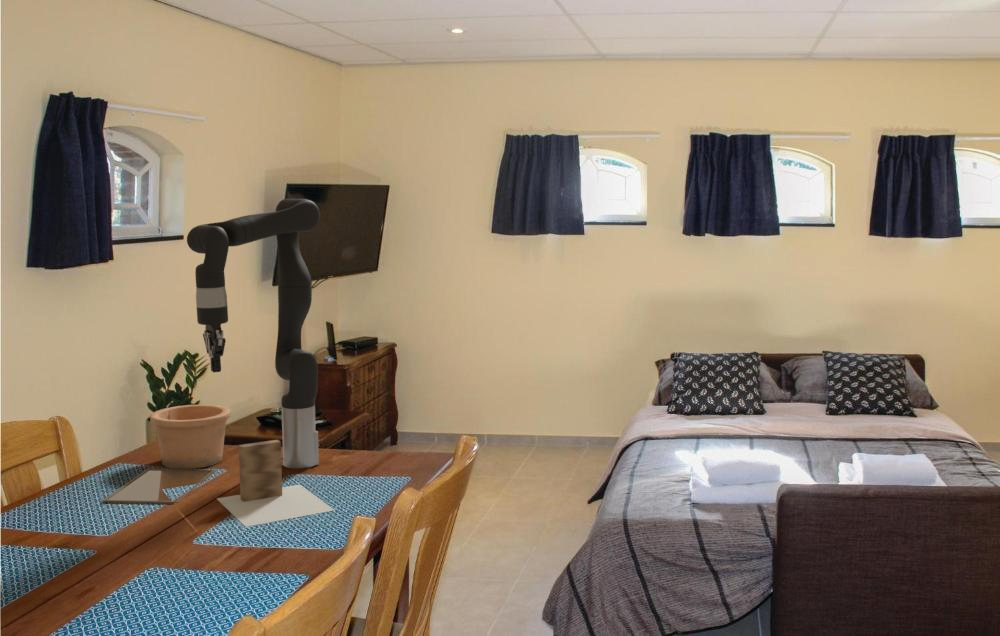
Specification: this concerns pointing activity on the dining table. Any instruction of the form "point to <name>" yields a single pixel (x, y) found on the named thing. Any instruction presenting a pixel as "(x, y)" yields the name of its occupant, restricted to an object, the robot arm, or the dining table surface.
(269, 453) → the walnut tile
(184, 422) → the pottery
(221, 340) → the robot arm
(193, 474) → the picture frame
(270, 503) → the mat
